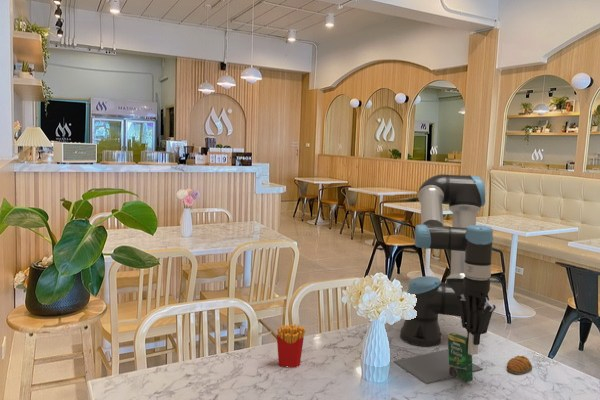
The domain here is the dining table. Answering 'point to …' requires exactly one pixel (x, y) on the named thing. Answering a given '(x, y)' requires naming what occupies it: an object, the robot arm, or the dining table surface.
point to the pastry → (519, 365)
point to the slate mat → (430, 366)
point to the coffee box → (459, 357)
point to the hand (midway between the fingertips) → (472, 353)
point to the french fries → (290, 345)
